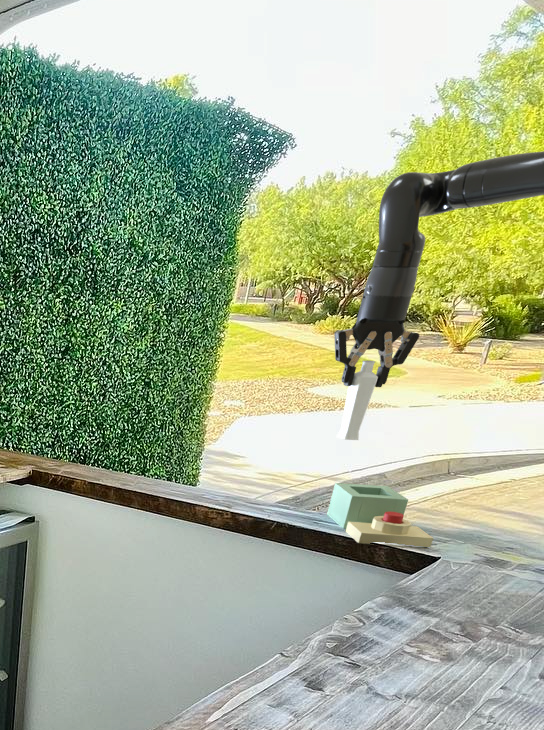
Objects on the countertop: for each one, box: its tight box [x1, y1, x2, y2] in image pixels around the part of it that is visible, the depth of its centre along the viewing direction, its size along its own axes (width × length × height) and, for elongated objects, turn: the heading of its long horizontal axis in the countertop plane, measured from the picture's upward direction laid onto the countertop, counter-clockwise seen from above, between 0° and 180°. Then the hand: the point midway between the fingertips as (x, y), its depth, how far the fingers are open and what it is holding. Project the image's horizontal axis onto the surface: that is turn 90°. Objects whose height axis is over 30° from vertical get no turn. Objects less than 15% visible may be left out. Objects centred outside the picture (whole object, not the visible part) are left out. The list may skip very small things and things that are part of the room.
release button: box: [383, 512, 405, 524], centre depth 147 cm, size 3×3×2 cm
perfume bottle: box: [336, 359, 378, 441], centre depth 150 cm, size 5×4×15 cm
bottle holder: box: [326, 482, 409, 530], centre depth 156 cm, size 10×10×7 cm
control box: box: [345, 516, 434, 548], centre depth 148 cm, size 12×7×4 cm, turn 75°
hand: (362, 385), depth 149 cm, fingers closed on perfume bottle, 4 cm apart
